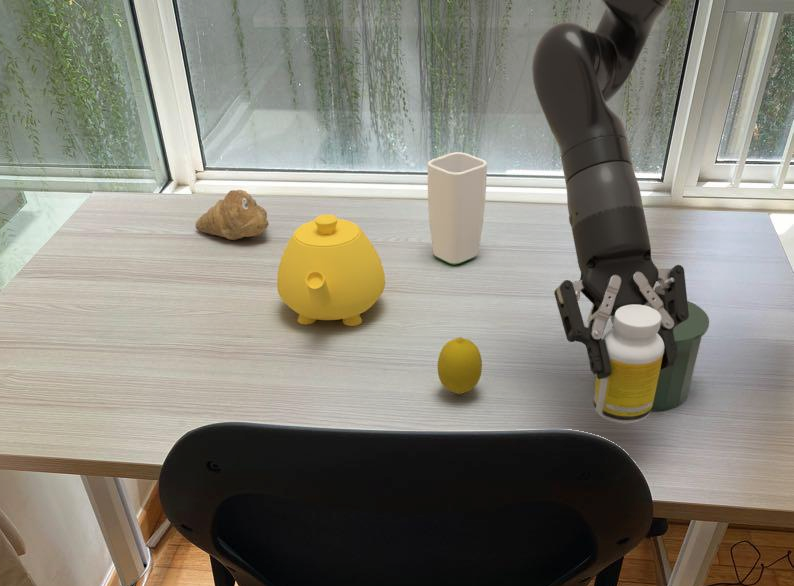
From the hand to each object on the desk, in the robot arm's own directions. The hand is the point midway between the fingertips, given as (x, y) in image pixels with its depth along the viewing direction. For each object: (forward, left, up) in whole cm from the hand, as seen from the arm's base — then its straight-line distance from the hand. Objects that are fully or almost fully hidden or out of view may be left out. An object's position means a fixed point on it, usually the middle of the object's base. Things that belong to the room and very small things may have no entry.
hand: (636, 371), depth 92 cm
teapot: (+46, -20, -12) cm, 52 cm away
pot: (0, -16, -12) cm, 20 cm away
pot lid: (0, -16, -2) cm, 16 cm away
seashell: (+73, -40, -12) cm, 84 cm away
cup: (+35, -44, -12) cm, 58 cm away
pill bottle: (+1, -1, -6) cm, 6 cm away
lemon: (+22, -7, -12) cm, 26 cm away
